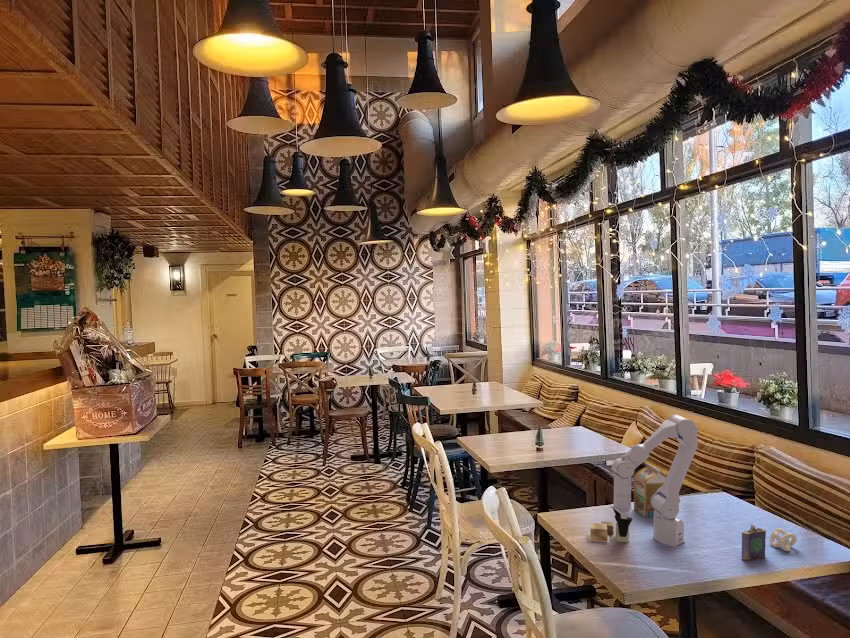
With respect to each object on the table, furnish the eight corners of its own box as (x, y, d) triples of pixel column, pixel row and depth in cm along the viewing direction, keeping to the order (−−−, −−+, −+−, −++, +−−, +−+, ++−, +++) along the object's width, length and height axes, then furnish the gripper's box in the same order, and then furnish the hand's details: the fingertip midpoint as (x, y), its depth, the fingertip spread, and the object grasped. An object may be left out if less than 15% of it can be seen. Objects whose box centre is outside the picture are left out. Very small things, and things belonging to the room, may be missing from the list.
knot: (762, 545, 203) (762, 528, 203) (779, 541, 206) (779, 525, 206) (782, 553, 196) (782, 536, 196) (799, 550, 199) (799, 532, 199)
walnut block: (612, 530, 216) (612, 522, 216) (613, 534, 212) (613, 526, 212) (601, 529, 217) (601, 521, 217) (601, 533, 213) (601, 525, 213)
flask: (746, 561, 190) (746, 528, 190) (738, 558, 193) (738, 525, 193) (767, 557, 193) (767, 525, 193) (759, 554, 196) (760, 522, 196)
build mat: (637, 540, 208) (637, 538, 208) (615, 551, 199) (615, 549, 199) (601, 528, 219) (601, 526, 219) (578, 538, 209) (578, 536, 209)
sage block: (627, 538, 208) (627, 523, 208) (628, 542, 205) (628, 528, 204) (615, 537, 209) (615, 523, 209) (616, 541, 206) (616, 527, 205)
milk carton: (634, 509, 239) (634, 463, 238) (659, 509, 240) (659, 462, 239) (645, 519, 228) (645, 470, 228) (672, 518, 229) (672, 469, 229)
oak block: (606, 535, 211) (606, 524, 211) (607, 541, 206) (607, 529, 206) (590, 533, 212) (590, 522, 212) (590, 539, 207) (590, 528, 207)
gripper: (609, 486, 215) (608, 523, 215) (611, 499, 201) (611, 539, 201) (629, 488, 213) (629, 525, 213) (633, 501, 199) (633, 541, 199)
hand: (622, 532), depth 207 cm, fingers open, 7 cm apart
